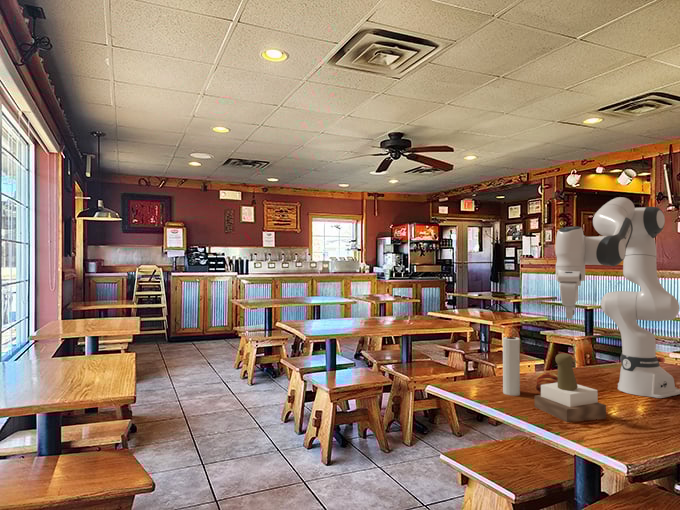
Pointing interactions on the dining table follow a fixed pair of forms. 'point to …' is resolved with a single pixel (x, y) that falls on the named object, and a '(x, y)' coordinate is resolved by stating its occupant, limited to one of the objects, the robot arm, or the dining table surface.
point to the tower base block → (571, 410)
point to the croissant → (545, 380)
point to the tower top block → (569, 395)
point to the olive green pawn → (565, 372)
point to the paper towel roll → (511, 366)
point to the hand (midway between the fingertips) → (570, 316)
